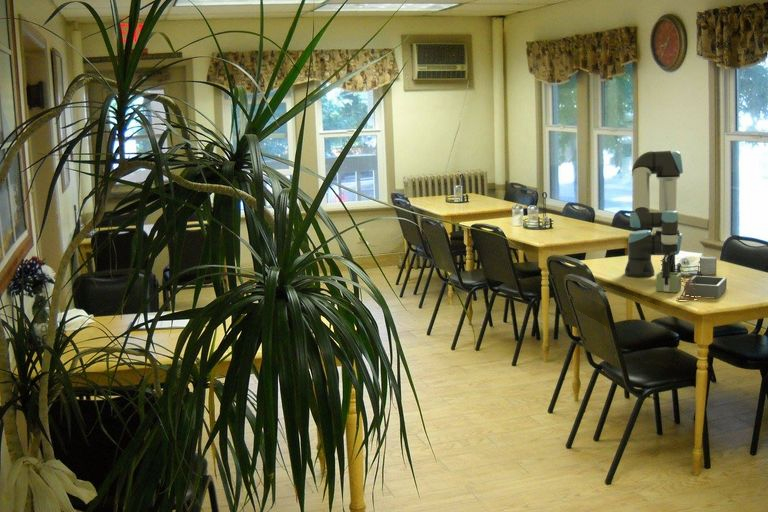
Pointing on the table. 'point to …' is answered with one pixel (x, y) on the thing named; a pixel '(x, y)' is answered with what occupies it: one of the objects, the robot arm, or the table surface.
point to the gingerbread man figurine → (687, 289)
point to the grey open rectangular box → (707, 286)
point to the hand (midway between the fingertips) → (668, 289)
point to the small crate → (673, 282)
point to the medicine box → (708, 265)
